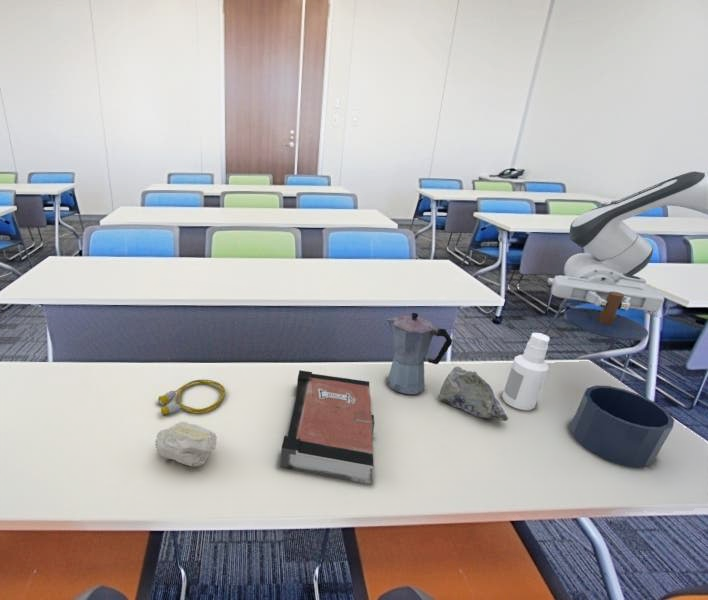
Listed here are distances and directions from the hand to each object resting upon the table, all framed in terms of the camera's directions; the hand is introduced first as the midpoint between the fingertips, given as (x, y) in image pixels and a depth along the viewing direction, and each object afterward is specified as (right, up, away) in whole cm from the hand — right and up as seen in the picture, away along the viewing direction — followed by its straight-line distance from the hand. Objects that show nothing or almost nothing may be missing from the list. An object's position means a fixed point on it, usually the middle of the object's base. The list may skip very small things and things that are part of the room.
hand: (613, 305), depth 87 cm
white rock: (-92, -30, -9) cm, 97 cm away
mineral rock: (-29, -25, +5) cm, 39 cm away
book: (-62, -27, -1) cm, 68 cm away
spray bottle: (-16, -23, +9) cm, 29 cm away
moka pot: (-40, -21, +14) cm, 47 cm away
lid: (0, -4, +3) cm, 5 cm away
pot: (-4, -29, -3) cm, 29 cm away
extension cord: (-94, -23, +8) cm, 97 cm away
